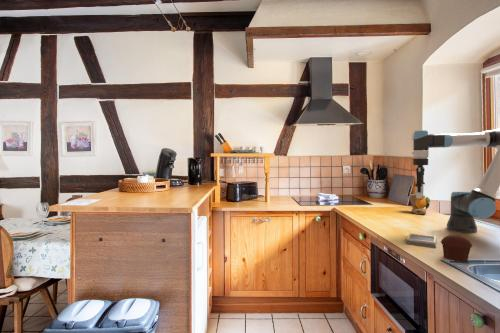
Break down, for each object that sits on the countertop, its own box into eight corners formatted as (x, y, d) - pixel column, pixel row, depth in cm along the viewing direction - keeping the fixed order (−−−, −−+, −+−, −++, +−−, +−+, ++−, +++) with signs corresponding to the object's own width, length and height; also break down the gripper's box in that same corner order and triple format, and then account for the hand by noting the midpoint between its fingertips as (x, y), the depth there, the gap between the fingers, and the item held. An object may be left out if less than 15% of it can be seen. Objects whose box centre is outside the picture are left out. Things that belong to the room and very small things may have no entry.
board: (436, 240, 164) (436, 236, 163) (435, 247, 151) (435, 243, 151) (409, 236, 171) (409, 232, 170) (406, 243, 158) (406, 239, 158)
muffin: (439, 259, 135) (440, 236, 134) (440, 252, 144) (441, 231, 144) (472, 265, 128) (473, 241, 128) (471, 257, 137) (472, 235, 137)
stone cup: (409, 210, 246) (410, 191, 245) (426, 212, 240) (427, 192, 239) (408, 213, 233) (408, 194, 232) (426, 215, 227) (426, 195, 226)
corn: (430, 193, 179) (427, 198, 163) (431, 206, 179) (428, 212, 163) (416, 193, 183) (412, 197, 167) (417, 206, 183) (412, 212, 167)
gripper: (414, 157, 185) (414, 193, 186) (411, 158, 166) (410, 199, 167) (429, 157, 181) (428, 194, 182) (427, 158, 162) (426, 200, 163)
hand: (419, 196), depth 174 cm, fingers closed on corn, 11 cm apart
